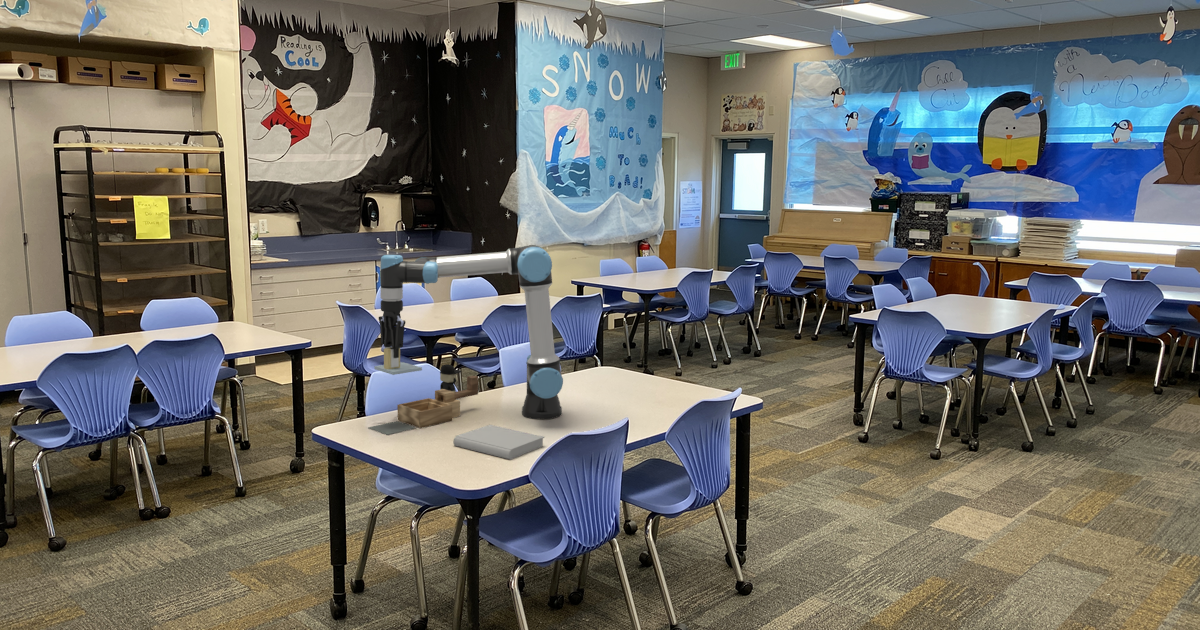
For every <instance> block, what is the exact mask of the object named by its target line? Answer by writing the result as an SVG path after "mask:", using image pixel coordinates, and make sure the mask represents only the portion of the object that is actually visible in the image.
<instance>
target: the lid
mask: <svg viewBox="0 0 1200 630" xmlns="http://www.w3.org/2000/svg"><path fill="white" fill-rule="evenodd" d="M374 370H376V371H380V372H382V373H386V374H389V375H392V376H395V375H400V374H408V373H413V372H414V373H415V372H421V371H423V367H421V366H417V365H414V364H411V363H407V362H404V361H401V348H399V367H391V349H390V348H385V347H384V348H383V365H382V364H381V365H375V366H374Z"/></svg>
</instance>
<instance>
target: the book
mask: <svg viewBox="0 0 1200 630" xmlns="http://www.w3.org/2000/svg"><path fill="white" fill-rule="evenodd" d="M544 439H545V436H543V435H538V434H534V433H528V432H525V431H520V430H516V429H512V428H507V427H502V426H498V425H493V424H488V425H483V426H481V427H479V428H475V429H473V430H470V431H467V432H464V433H463V432H462V433H460V434H458V435H455V437H454V438H453V445H454V447H457V448H462V449H466V450H470V451H473V452H478V453H482V454H486V455H490V456H494V457H499V458H501V459H506V460H510V461H511V460H513V459H516V458H519V457H520V456H523V455H524V454H528V453H529V452H532V451H535V450H538V449H539V448H543V446H544Z"/></svg>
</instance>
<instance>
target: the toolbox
mask: <svg viewBox="0 0 1200 630" xmlns="http://www.w3.org/2000/svg"><path fill="white" fill-rule="evenodd" d="M442 396H443V400H442ZM396 409H397V421H399V422H402V423H405V424H408V425H411V426H413V427H416V428H418V429H423V428H428V427H432V426H436V425H440V424H445V423H450V422H453V419H455V418H458V417H461V400H459V399H455V392H452V391H449V390H445V389H441V390H440V389H436V390H434V399H433V398H429V397H428V398H422V399H419V400H413V401H408V402H404V403H403V402H402V403H399V404H397V408H396Z"/></svg>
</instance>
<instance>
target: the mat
mask: <svg viewBox="0 0 1200 630" xmlns="http://www.w3.org/2000/svg"><path fill="white" fill-rule="evenodd" d="M368 429H369V430H372V431H375V432H378V433H381V434H383V435H385V436H390V435H394V434H399V433H402V432H403V433H404V432H406V431H411V430H416V429H417V427H415V426H412V425H409V424H406V423H403V422H400V421H398V420H395V421H391V422H386V423H382V424H377V425H373V426H368Z"/></svg>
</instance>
